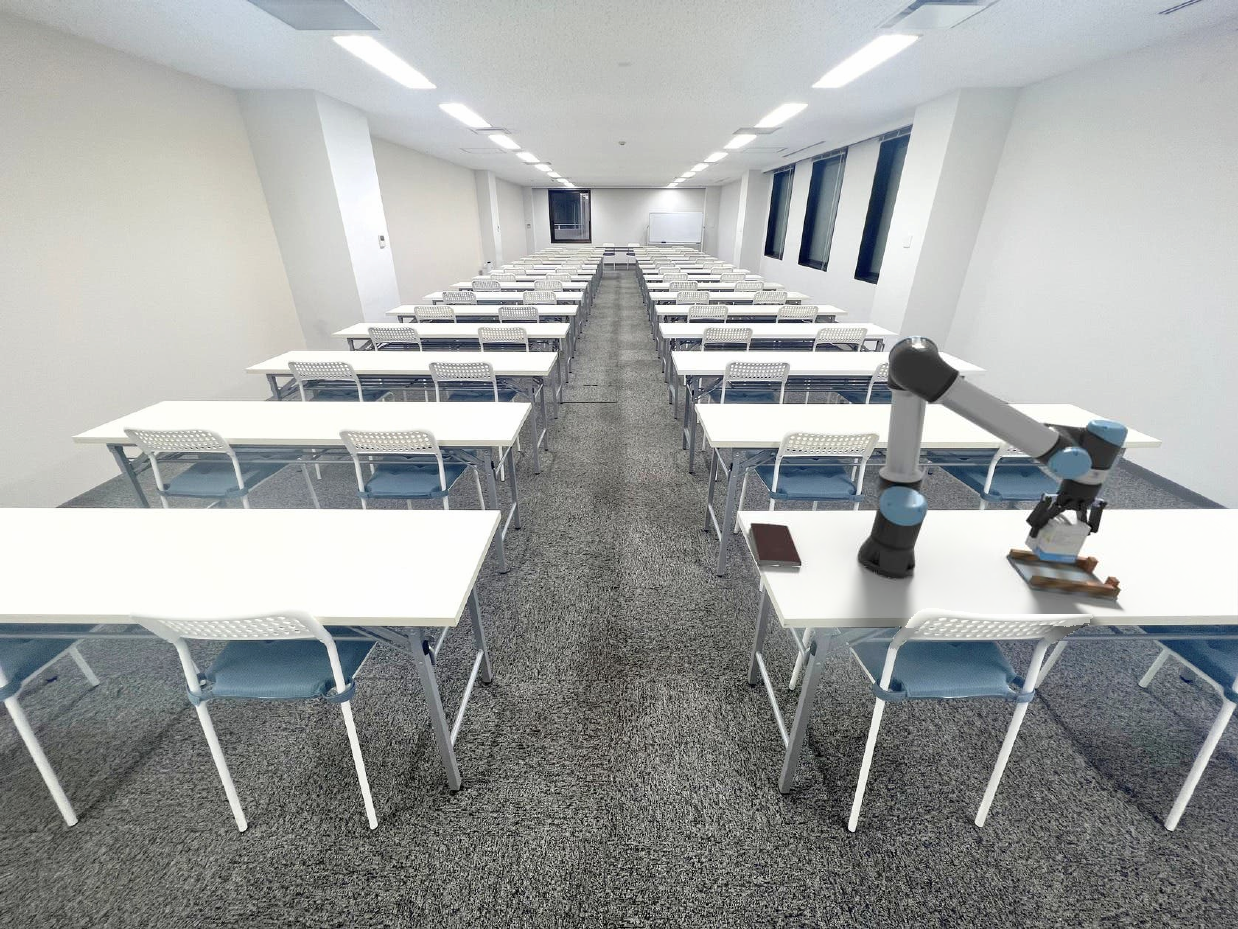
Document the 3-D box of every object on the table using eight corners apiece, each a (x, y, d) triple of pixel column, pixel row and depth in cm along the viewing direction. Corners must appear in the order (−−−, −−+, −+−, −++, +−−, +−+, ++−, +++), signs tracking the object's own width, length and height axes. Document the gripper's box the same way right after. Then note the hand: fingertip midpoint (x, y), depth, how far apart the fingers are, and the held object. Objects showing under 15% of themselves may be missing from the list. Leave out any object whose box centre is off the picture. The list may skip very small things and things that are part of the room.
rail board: (1031, 589, 133) (1038, 575, 131) (1006, 557, 146) (1012, 543, 144) (1116, 601, 129) (1125, 586, 127) (1082, 566, 142) (1089, 553, 140)
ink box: (1075, 564, 130) (1096, 523, 125) (1040, 560, 132) (1059, 519, 126) (1056, 545, 138) (1075, 506, 132) (1023, 542, 140) (1040, 503, 134)
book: (786, 532, 159) (788, 524, 158) (800, 569, 142) (802, 560, 141) (748, 530, 160) (749, 522, 159) (758, 567, 143) (759, 558, 142)
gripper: (1044, 481, 123) (1013, 551, 134) (1143, 489, 119) (1103, 562, 129) (1029, 468, 130) (1001, 536, 140) (1122, 475, 125) (1086, 546, 135)
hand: (1050, 548), depth 134 cm, fingers closed on ink box, 8 cm apart
